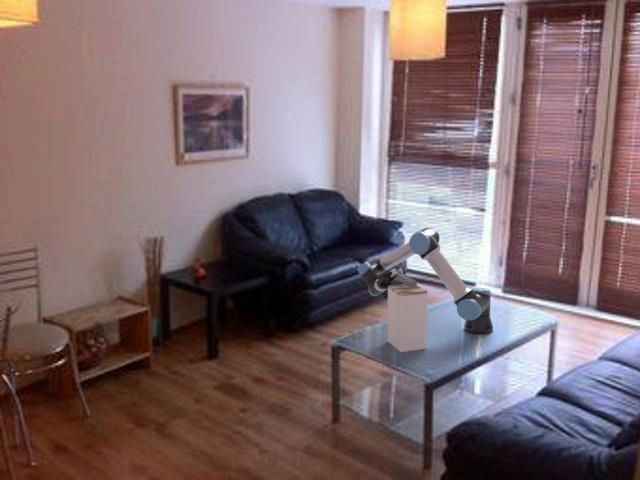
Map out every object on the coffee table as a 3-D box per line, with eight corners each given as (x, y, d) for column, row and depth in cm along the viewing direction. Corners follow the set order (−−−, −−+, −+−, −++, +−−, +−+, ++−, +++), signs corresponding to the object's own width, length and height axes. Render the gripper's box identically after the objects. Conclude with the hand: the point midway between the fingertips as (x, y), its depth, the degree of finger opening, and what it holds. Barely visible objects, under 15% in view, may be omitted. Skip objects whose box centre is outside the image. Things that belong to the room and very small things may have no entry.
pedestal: (387, 341, 331) (387, 285, 325) (412, 338, 335) (412, 283, 329) (400, 352, 316) (400, 293, 310) (426, 348, 320) (427, 290, 314)
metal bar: (389, 275, 336) (389, 269, 335) (395, 274, 336) (394, 269, 336) (411, 287, 311) (411, 281, 311) (416, 287, 312) (416, 281, 311)
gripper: (398, 288, 350) (414, 276, 329) (370, 291, 346) (385, 279, 324) (395, 275, 353) (411, 262, 331) (368, 278, 348) (382, 265, 327)
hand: (398, 270), depth 328 cm, fingers closed on metal bar, 3 cm apart
